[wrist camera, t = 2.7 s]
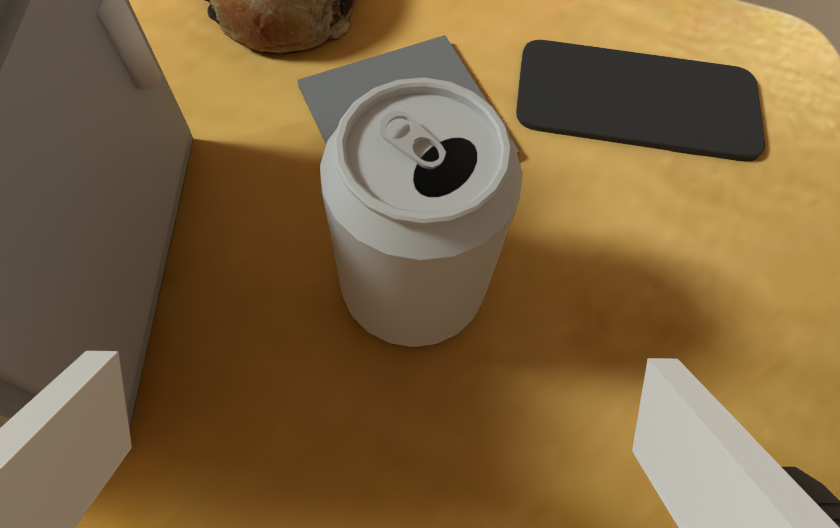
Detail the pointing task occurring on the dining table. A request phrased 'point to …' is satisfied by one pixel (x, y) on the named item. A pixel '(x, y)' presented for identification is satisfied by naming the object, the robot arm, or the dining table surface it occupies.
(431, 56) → the mat
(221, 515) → the dining table surface
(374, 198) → the can
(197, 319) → the dining table surface
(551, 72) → the phone
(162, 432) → the dining table surface
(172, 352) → the dining table surface
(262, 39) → the bread roll
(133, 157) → the cabinet
